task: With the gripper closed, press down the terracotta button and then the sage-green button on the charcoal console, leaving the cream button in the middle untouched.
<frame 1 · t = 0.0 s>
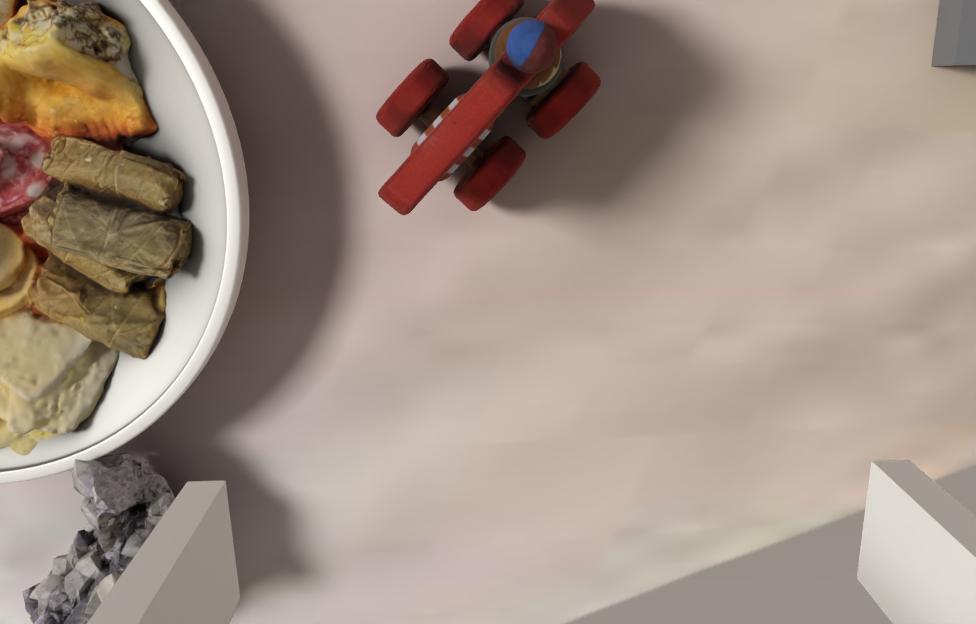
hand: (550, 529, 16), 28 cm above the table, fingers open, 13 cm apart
mineral specimen: (150, 532, 47), on the table
toy fire truck: (489, 96, 41), on the table
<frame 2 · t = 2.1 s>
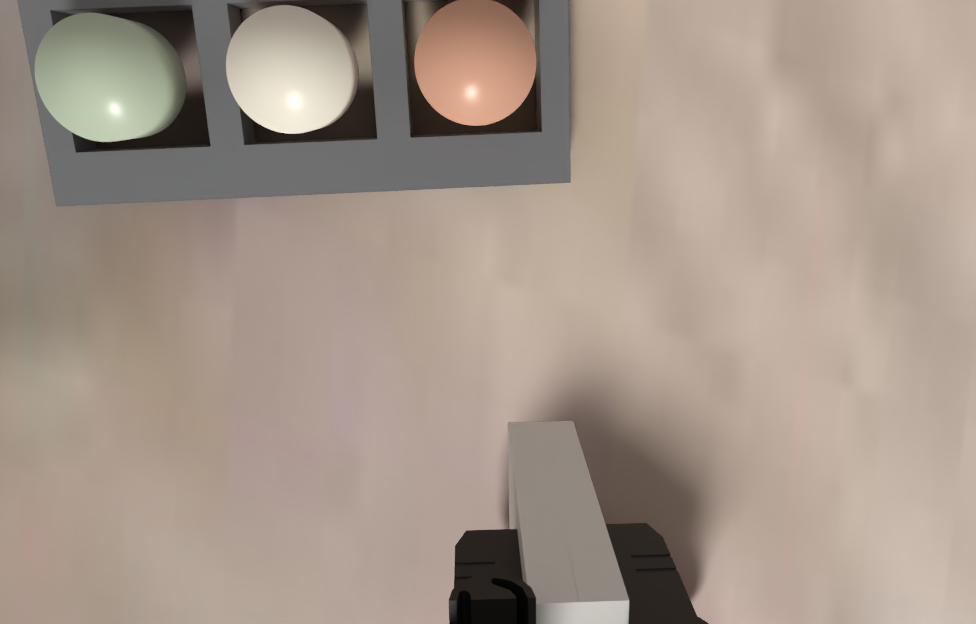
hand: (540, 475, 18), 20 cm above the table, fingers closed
button sage: (114, 79, 30), point 4 cm above the table, slide at 0.0 cm
console: (312, 74, 34), on the table
button cream: (295, 71, 31), point 4 cm above the table, slide at 0.0 cm
button terracotta: (474, 64, 31), point 4 cm above the table, slide at 0.0 cm
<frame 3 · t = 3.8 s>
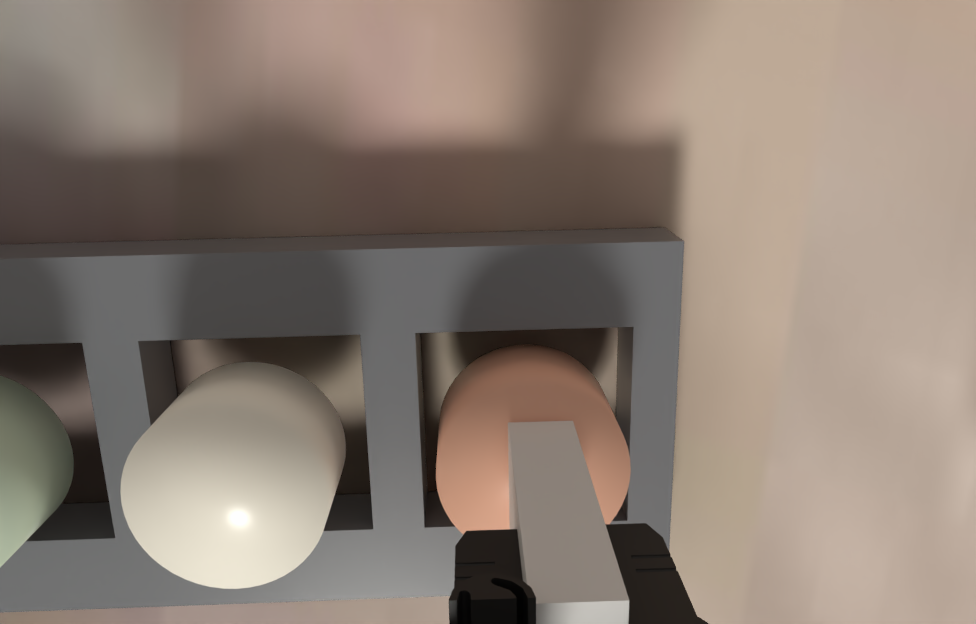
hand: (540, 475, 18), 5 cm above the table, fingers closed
console: (277, 409, 23), on the table
button cream: (241, 470, 19), point 4 cm above the table, slide at 0.0 cm
button terracotta: (528, 448, 20), point 3 cm above the table, slide at 0.8 cm, touching gripper
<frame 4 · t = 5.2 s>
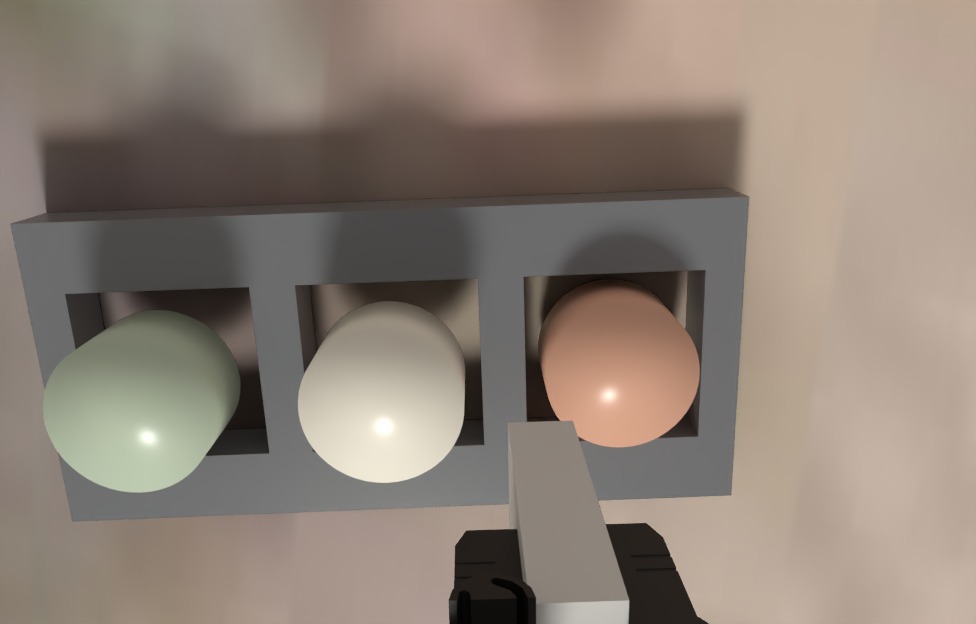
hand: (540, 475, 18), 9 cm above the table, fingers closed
button sage: (147, 398, 23), point 4 cm above the table, slide at 0.0 cm
console: (398, 347, 27), on the table
button cream: (386, 389, 23), point 4 cm above the table, slide at 0.0 cm
button terracotta: (614, 361, 25), point 2 cm above the table, slide at 1.6 cm
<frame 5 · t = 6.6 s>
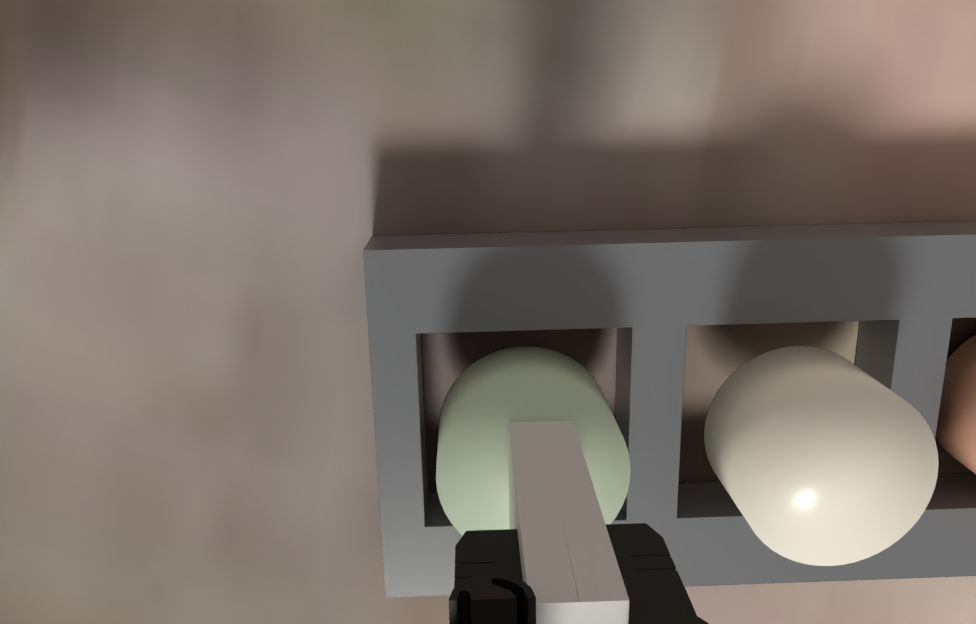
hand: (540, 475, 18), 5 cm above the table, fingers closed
button sage: (528, 449, 20), point 3 cm above the table, slide at 0.6 cm, touching gripper
console: (757, 394, 23), on the table
button cream: (813, 451, 19), point 4 cm above the table, slide at 0.0 cm
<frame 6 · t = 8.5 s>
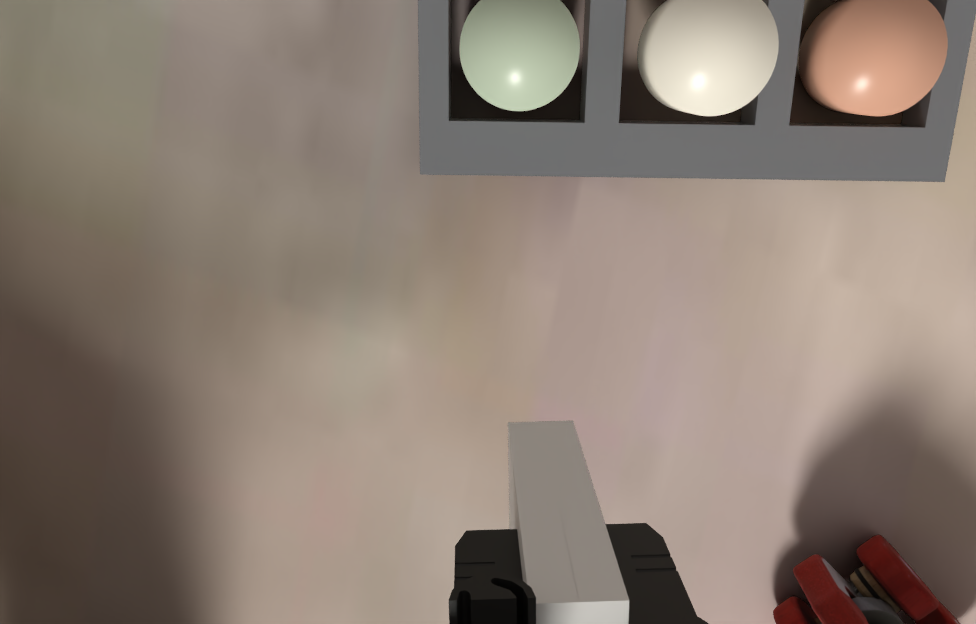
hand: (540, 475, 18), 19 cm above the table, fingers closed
button sage: (518, 50, 31), point 2 cm above the table, slide at 1.6 cm
console: (681, 53, 33), on the table
button cream: (704, 51, 30), point 4 cm above the table, slide at 0.0 cm
button terracotta: (869, 55, 31), point 2 cm above the table, slide at 1.6 cm
toy fire truck: (859, 608, 42), on the table
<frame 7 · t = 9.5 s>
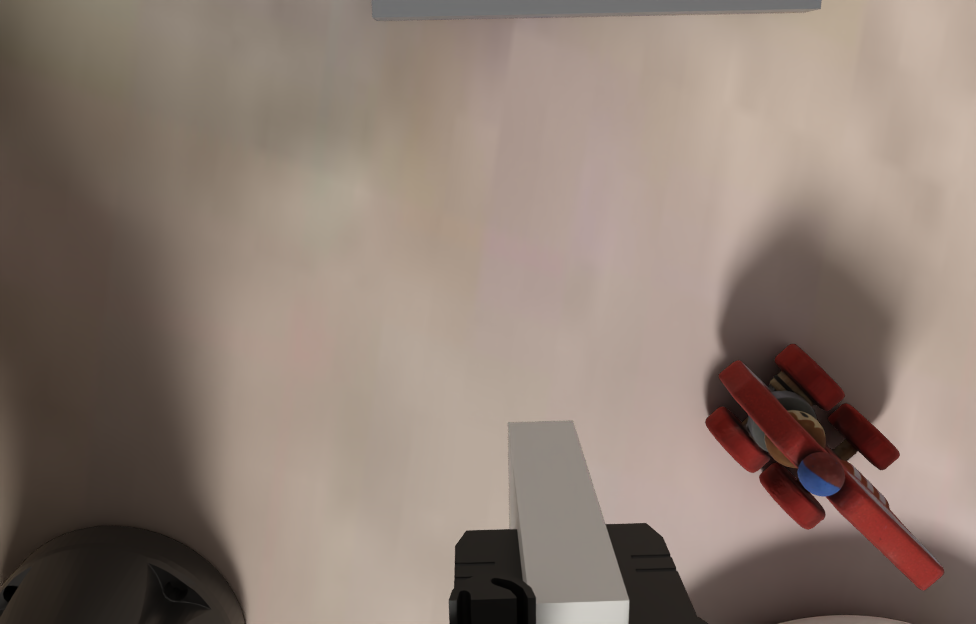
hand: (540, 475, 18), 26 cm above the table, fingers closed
toy fire truck: (783, 420, 47), on the table
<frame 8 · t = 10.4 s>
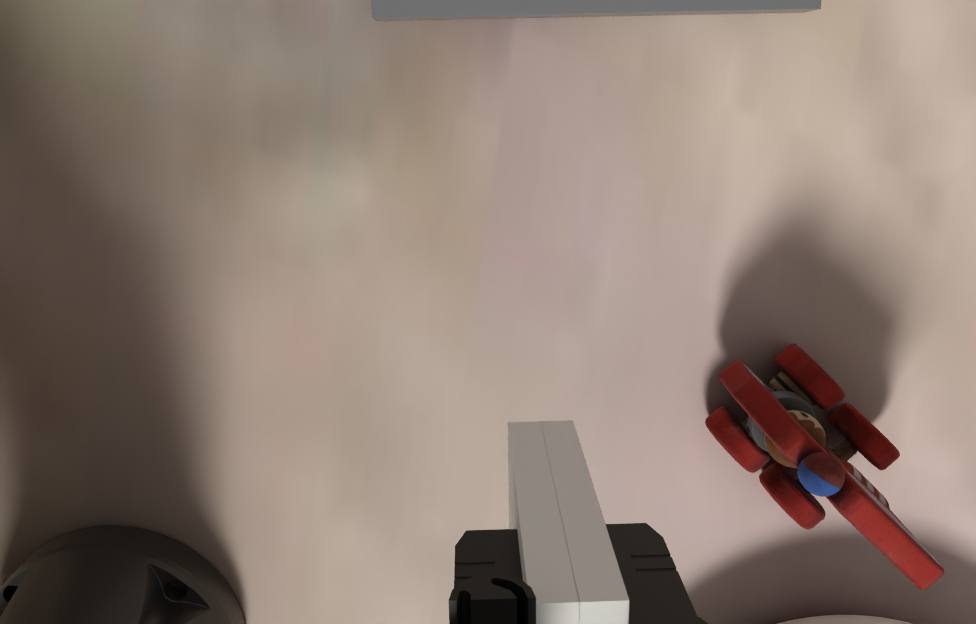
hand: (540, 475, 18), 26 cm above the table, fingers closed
toy fire truck: (783, 419, 47), on the table
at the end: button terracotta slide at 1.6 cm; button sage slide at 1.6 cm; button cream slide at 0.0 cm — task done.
